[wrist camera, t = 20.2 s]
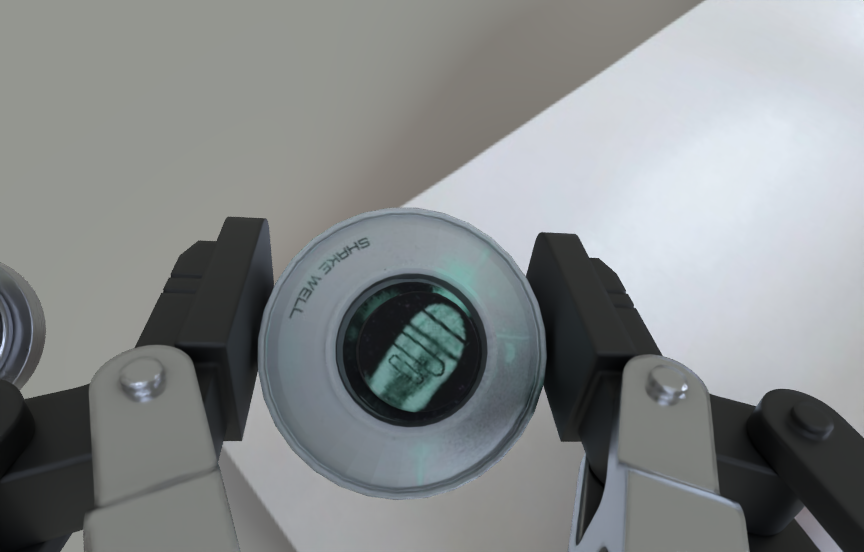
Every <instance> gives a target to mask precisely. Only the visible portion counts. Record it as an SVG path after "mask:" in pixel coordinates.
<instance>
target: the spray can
mask: <svg viewBox="0 0 864 552" xmlns="http://www.w3.org/2000/svg"><path fill="white" fill-rule="evenodd" d="M546 360H547V353H546V337H545V328H544V324H543V320H542V316H541V312H540V308H539V304H538V301H537V299H536V297H535V295H534V293H533V291H532V288H531V286H530V284H529V282H528V280H527V278H526V277H525V275H524V274H523V272H522V271H521V270H520V268H519V267H518V265H517V264H516V263H515V261H514V260H513V258H512V257H511V256H510V255H509V254H508V253H507V252H506V251H505V250H504V249H503V248H502V247H501V246H500V245H499V244H498V243H496V242H495V241H494V240H493V239H492V238H491V237H490V236H488V235H486V234H485V233H483V232H482V231H480V230H479V229H477V228H476V227H474V226H472V225H471V224H469V223H467V222H465V221H462V220H460V219H457V218H455V217H452V216H450V215H447V214H445V213H441V212H436V211H431V210H426V209H420V208H386V209H381V210H375V211H370V212H365V213H361V214H359V215H356V216H354V217H351V218H349V219H346V220H344V221H341V222H339V223H337V224H335V225H333V226H332V227H330V228H329V229H327V230H326V231H324V232H323V233H321V234H320V235H318V236H317V237H315V238H314V239H312V240H311V241H310V242H309V243H308V244H307V245H306V246H305V247H304V248H303V249H302V250H301V251H300V252H299V253H298V254H297V255H296V256H295V257H294V258H293V259H292V260H291V262H290V263H289V264H288V266H287V267H286V269H285V270H284V272H283V273H282V275H281V276H280V277H279V279H278V280H277V282H276V283H275V286H274V288H273V290H272V293H271V295H270V297H269V300H268V302H267V304H266V307H265V309H264V313H263V318H262V322H261V327H260V332H259V337H258V372H259V377H260V382H261V387H262V392H263V397H264V400H265V402H266V405H267V407H268V409H269V412H270V414H271V416H272V419H273V421H274V424H275V426H276V427H277V429H278V430H279V432H280V433H281V434H282V436H283V437H284V439H285V440H286V442H287V443H288V444H289V446H290V447H291V449H292V450H293V451H294V452H295V453H296V454H297V455H298V456H299V457H300V458H301V459H302V460H303V461H304V462H306V463H307V464H308V465H309V466H310V467H311V468H312V469H313V470H314V471H316V472H317V473H319V474H320V475H322V476H324V477H325V478H327V479H329V480H330V481H332V482H334V483H335V484H337V485H338V486H341V487H343V488H346V489H349V490H352V491H355V492H357V493H360V494H363V495H366V496H371V497H378V498H386V499H393V500H403V499H417V498H427V497H431V496H434V495H438V494H441V493H445V492H448V491H452V490H455V489H457V488H459V487H461V486H462V485H464V484H466V483H468V482H470V481H472V480H474V479H476V478H478V477H480V476H481V475H482V474H484V473H485V472H486V471H487V470H489V469H490V468H491V467H492V466H494V465H495V464H496V463H497V462H499V461H500V460H501V459H502V458H503V457H504V456H505V455H506V453H507V452H508V451H509V450H510V449H511V448H512V446H513V445H514V444H515V443H516V442H517V440H518V439H519V438H520V437H521V435H522V433H523V432H524V430H525V428H526V426H527V424H528V423H529V421H530V419H531V417H532V415H533V414H534V412H535V409H536V406H537V403H538V399H539V396H540V393H541V390H542V387H543V383H544V375H545V367H546Z"/></svg>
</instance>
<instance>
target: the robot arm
mask: <svg viewBox="0 0 864 552" xmlns="http://www.w3.org/2000/svg"><path fill="white" fill-rule="evenodd" d="M526 278H527V280H528V282H529V284H530V286H531V288H532V291H533V293H534V295H535V297H536V299H537V301H538V304H539V308H540V312H541V316H542V320H543V324H544V328H545V337H546V353H547V360H546V367H545V375H544V383H543V385H544V389H545V392H546V395H547V398H548V402H549V405H550V408H551V411H552V414H553V418H554V421H555V424H556V427H557V431H558V434H559V437H560V440H561V442H582V444H583V447H584V450H585V455H584V457H583V459H582V461H581V464H580V468H579V474H578V482H577V489H576V496H575V504H574V511H573V518H572V525H571V533H570V540H569V547H568V552H821V551H820V549H819V548H818V547H817V546H816V544H815V543H814V542H813V541H812V539H811V538H810V537H809V536H808V534H807V533H806V532H805V531H804V529H803V528H802V527H801V526H800V525H799V523H798V522H797V521H796V520H795V517H796V515H797V514H798V513H799V512H800V511H801V510H802V509H803V508H804V507H806V508H807V509H808V510H809V512H810V513H811V514H812V515H813V516H814V518H815V519H816V520H817V521H818V522H819V524H820V525H821V526H822V527H823V528H824V530H825V531H826V532H827V533H828V534H829V536H830V537H831V538H832V539H833V540H834V542H835V543H836V544H837V545H838V546H839V548H840V549H841V550H842V551H843V552H864V438H863V437H862V436H861V435H860V434H859V433H858V432H857V431H856V430H855V429H854V428H853V427H852V426H851V425H850V424H849V423H848V422H847V421H846V420H845V419H844V418H843V417H841V416H840V415H839V414H838V413H837V412H836V411H835V410H833V409H832V408H831V407H829V406H828V405H826V404H825V403H823V402H822V401H820V400H818V399H816V398H814V397H812V396H810V395H807V394H805V393H802V392H799V391H795V390H790V389H776V390H772V391H770V392H768V393H766V394H765V395H764V397H763V398H762V399H761V401H760V402H759V404H758V405H757V406H752V405H748V404H745V403H741V402H737V401H733V400H730V399H726V398H722V397H718V396H715V395H712V394H709V392H708V390H707V387H706V386H705V384H704V383H703V381H702V380H701V379H700V378H699V377H698V376H697V375H696V374H695V373H694V372H693V371H692V370H690V369H689V368H688V367H686V366H685V365H683V364H681V363H679V362H677V361H675V360H673V359H670V358H667V357H664V356H662V354H661V352H660V350H659V349H658V347H657V345H656V343H655V341H654V340H653V338H652V336H651V334H650V332H649V331H648V329H647V327H646V325H645V324H644V322H643V320H642V318H641V316H640V315H639V313H638V311H637V309H636V308H634V304H633V302H632V300H631V299H630V297H629V295H628V294H626V290H625V288H624V286H623V284H622V283H621V281H620V279H619V277H618V276H617V274H616V273H615V272H614V271H613V270H612V269H611V268H609V267H608V266H607V265H606V264H605V263H604V262H602V261H601V260H600V259H599V258H589V257H588V255H587V253H586V251H585V249H584V247H583V245H582V243H581V241H580V239H579V237H578V236H577V235H576V234H567V233H546V232H541V233H539V234H538V236H537V238H536V241H535V244H534V248H533V252H532V256H531V259H530V263H529V267H528V271H527V274H526ZM273 288H274V280H273V268H272V257H271V245H270V234H269V225H268V221H267V219H263V218H244V217H227V218H226V220H225V222H224V224H223V227H222V229H221V232H220V234H219V237H218V239H217V241H198V242H196V243H195V244H194V245H192V246H191V247H190V248H189V249H187V250H186V251H185V252H184V253H183V254H181V255H180V256H179V258H178V260H177V262H176V264H175V266H174V268H173V270H172V273H171V278H169V279H168V281H167V283H166V285H165V287H164V289H163V290H164V291H163V293H161V295H160V297H159V299H158V301H157V303H156V305H155V307H154V309H153V311H152V313H151V315H150V318H149V320H148V322H147V324H146V326H145V328H144V330H143V332H142V334H141V336H140V338H139V340H138V342H137V344H136V346H135V348H134V349H131V350H128V351H125V352H123V353H121V354H119V355H117V356H115V357H113V358H112V359H110V360H109V361H108V362H106V363H105V364H104V365H103V366H102V367H101V368H100V369H99V370H98V371H97V372H96V373H95V375H94V377H93V378H92V380H91V383H90V384H87V385H84V386H81V387H78V388H73V389H69V390H65V391H60V392H56V393H51V394H47V395H42V396H37V397H33V398H29V399H24V398H23V396H22V394H21V393H20V391H19V389H18V388H17V387H16V386H15V385H14V384H12V383H10V382H8V381H6V380H2V379H0V552H60V551H61V550H62V548H63V547H64V545H65V543H66V542H67V540H68V539H69V537H70V536H71V534H72V533H73V532H77V531H80V530H84V531H83V538H84V552H240V548H239V544H238V540H237V536H236V532H235V527H234V523H233V519H232V515H231V511H230V507H229V504H228V499H227V495H226V491H225V487H224V483H223V479H222V475H221V471H220V467H219V465H218V460H219V456H220V452H221V448H222V445H223V441H242V438H243V433H244V429H245V425H246V420H247V416H248V412H249V407H250V403H251V399H252V394H253V390H254V386H255V381H256V377H257V372H258V337H259V332H260V327H261V322H262V318H263V313H264V309H265V307H266V304H267V302H268V300H269V297H270V295H271V293H272V290H273ZM12 337H13V324H12V318H11V314H10V311H9V308H8V306H7V304H6V302H5V300H4V298H3V297H2V295H1V294H0V369H1V367H2V366H3V364H4V362H5V361H6V358H7V356H8V354H9V351H10V348H11V343H12Z"/></svg>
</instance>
